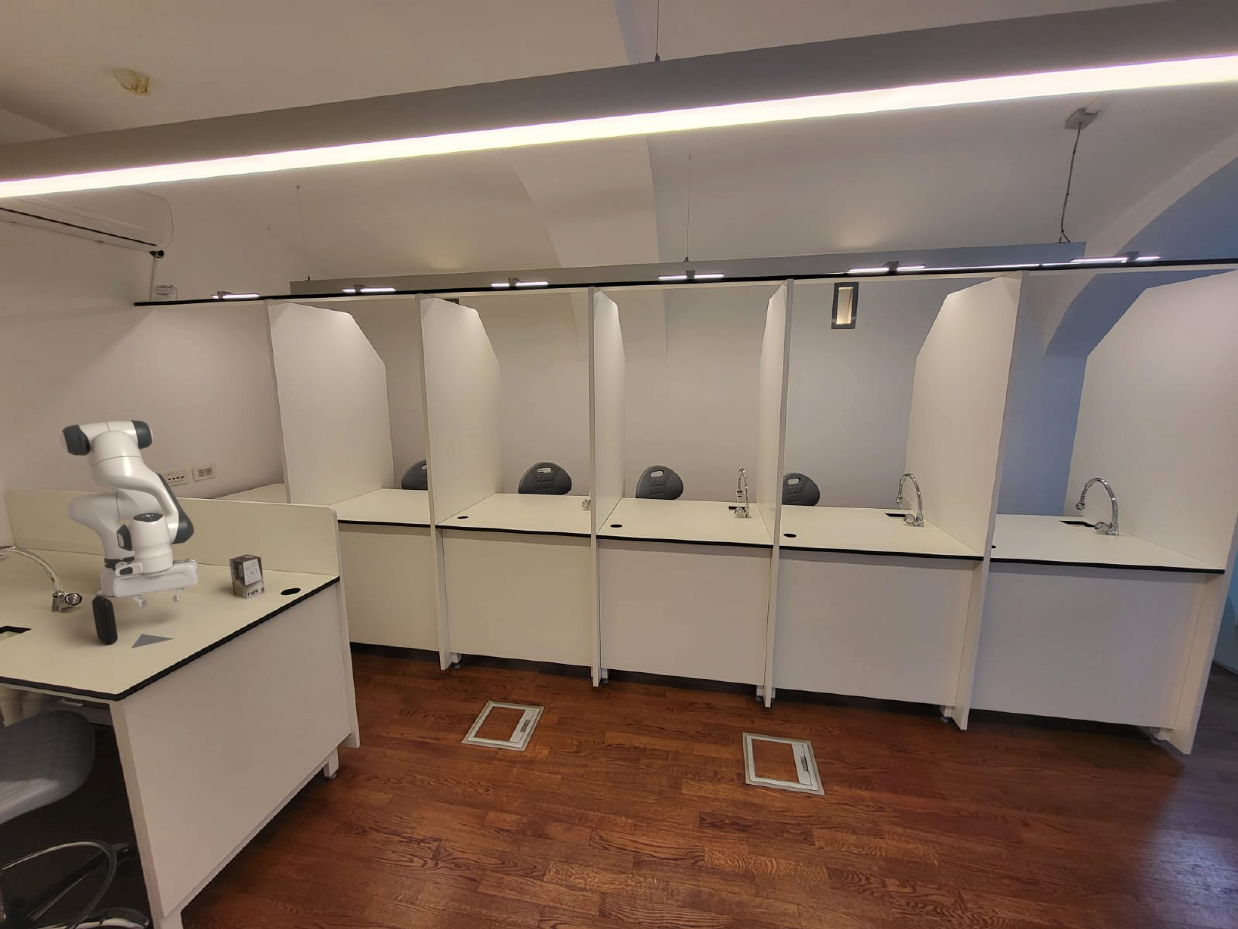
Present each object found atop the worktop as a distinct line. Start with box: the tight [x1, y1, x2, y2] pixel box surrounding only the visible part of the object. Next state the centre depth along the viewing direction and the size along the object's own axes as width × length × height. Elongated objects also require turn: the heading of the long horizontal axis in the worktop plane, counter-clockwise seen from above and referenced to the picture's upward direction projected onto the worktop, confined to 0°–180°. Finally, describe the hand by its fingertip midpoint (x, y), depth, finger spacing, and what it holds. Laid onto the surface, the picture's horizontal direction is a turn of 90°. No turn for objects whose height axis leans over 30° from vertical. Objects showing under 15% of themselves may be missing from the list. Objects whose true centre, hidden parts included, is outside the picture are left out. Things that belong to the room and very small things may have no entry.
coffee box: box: [229, 553, 265, 600], centre depth 179 cm, size 9×6×16 cm
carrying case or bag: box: [91, 595, 119, 645], centre depth 147 cm, size 11×3×15 cm, turn 60°
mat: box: [131, 633, 175, 649], centre depth 159 cm, size 22×22×1 cm
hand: (160, 603), depth 155 cm, fingers open, 7 cm apart
